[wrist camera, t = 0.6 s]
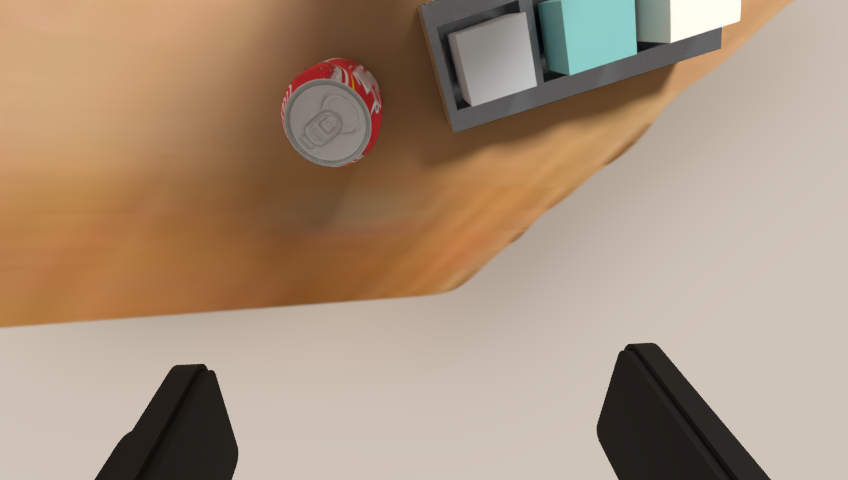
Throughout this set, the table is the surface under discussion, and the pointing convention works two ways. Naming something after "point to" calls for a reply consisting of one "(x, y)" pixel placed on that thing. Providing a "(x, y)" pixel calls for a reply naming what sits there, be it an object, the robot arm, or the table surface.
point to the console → (475, 3)
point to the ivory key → (682, 18)
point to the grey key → (493, 58)
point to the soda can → (333, 112)
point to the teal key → (586, 33)
